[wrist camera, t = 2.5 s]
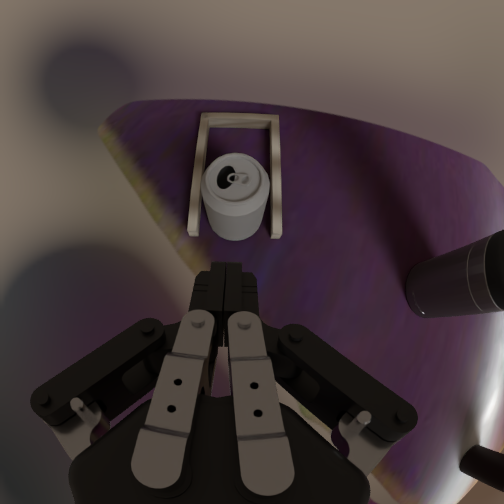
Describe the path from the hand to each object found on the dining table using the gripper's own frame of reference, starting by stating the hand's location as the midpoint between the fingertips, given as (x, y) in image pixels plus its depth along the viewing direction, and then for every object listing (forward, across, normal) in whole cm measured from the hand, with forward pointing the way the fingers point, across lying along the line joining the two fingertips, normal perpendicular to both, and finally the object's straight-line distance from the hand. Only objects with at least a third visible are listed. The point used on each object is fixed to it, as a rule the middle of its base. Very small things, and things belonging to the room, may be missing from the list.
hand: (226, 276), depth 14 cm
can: (+25, 0, +8) cm, 26 cm away
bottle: (-9, -49, +42) cm, 66 cm away
